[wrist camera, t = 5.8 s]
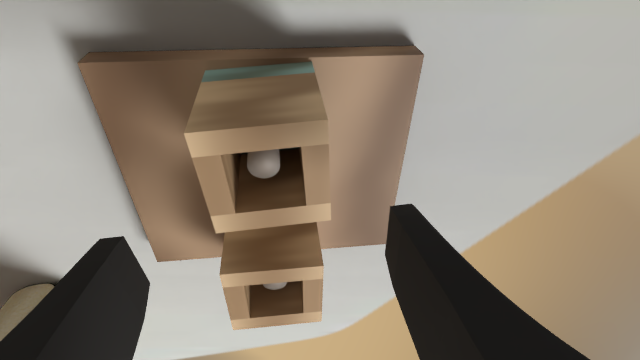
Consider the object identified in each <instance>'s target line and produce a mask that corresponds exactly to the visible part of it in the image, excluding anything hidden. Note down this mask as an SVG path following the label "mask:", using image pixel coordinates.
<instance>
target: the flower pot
mask: <svg viewBox="0 0 640 360" xmlns="http://www.w3.org/2000/svg"><path fill="white" fill-rule="evenodd" d="M54 287H55V286H53V285H51V284H38V285H33V286H29V287H26V288H23V289H21V290H19V291H17V292H16V293H14V294H13V295H12V296H11V297H10V298H9V299H8V301H7V302H6V303H5V305H4V306H3V307H2V308H1V309H0V341H1V340H2V339H3V338H4V337H5V336H6V335H7V334H8V333H9V332H10V331H11V330H12V329H14V328H15V327H16V326H17V325H18V324H19V323H20V322H21V321H22V320H23V319H24V318H25V317H26V316H27V315H28V314H29V313H30V312H31V311H32V310H33V309H34V308H35V307H36V306H37V305H38V303H39V302H40V301H41V300H42V299H43V298H44V297H45V296H46V295H47V294H48V293H49V292H50V291H51V290H52V289H53V288H54Z"/></svg>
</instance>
